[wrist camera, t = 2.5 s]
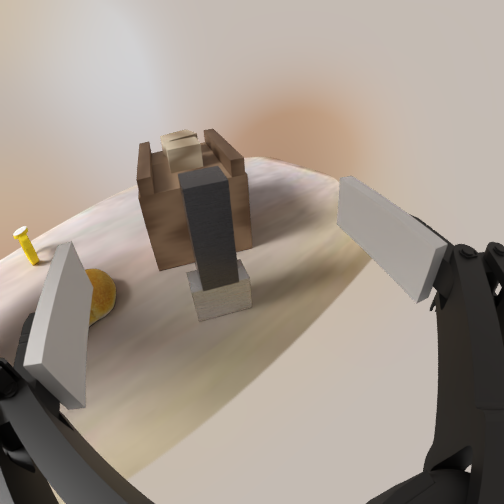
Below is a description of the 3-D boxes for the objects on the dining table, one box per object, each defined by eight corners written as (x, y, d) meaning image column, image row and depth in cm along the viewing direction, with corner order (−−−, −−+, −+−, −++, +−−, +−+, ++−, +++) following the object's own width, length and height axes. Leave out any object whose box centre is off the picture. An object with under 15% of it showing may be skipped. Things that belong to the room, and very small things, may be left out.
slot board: (159, 270, 35) (134, 180, 28) (153, 212, 48) (138, 144, 41) (252, 247, 38) (246, 157, 31) (222, 196, 50) (214, 128, 43)
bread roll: (130, 302, 32) (118, 276, 29) (69, 346, 26) (52, 322, 24) (101, 272, 36) (90, 248, 34) (48, 308, 31) (34, 285, 28)
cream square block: (171, 173, 34) (167, 150, 32) (168, 163, 37) (165, 142, 35) (203, 166, 35) (200, 143, 33) (198, 157, 38) (195, 136, 36)
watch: (24, 260, 40) (10, 231, 36) (36, 252, 42) (22, 222, 38) (32, 271, 37) (15, 239, 33) (45, 261, 38) (29, 229, 35)
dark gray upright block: (199, 322, 29) (168, 192, 20) (193, 299, 31) (165, 176, 23) (252, 308, 30) (242, 177, 22) (242, 286, 33) (230, 163, 24)
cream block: (172, 161, 38) (169, 140, 36) (163, 155, 41) (160, 136, 39) (199, 153, 39) (196, 133, 38) (188, 148, 42) (185, 129, 40)
